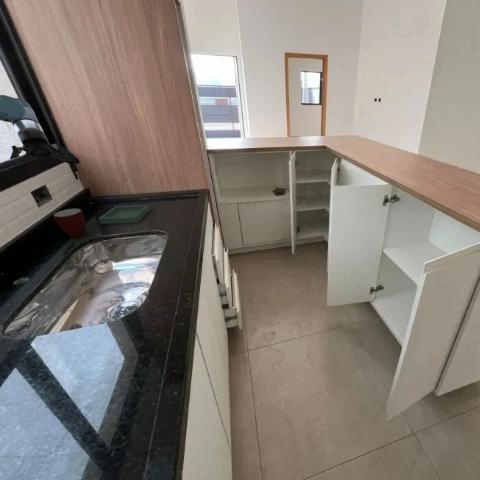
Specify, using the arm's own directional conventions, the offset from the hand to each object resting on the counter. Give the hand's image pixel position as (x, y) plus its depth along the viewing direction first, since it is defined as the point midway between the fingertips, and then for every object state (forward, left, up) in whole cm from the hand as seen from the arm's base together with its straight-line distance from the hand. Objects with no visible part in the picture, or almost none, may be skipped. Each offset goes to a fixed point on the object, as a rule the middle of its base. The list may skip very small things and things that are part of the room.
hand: (54, 181), depth 102 cm
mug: (+6, -9, -20) cm, 22 cm away
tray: (+16, +8, -19) cm, 27 cm away
